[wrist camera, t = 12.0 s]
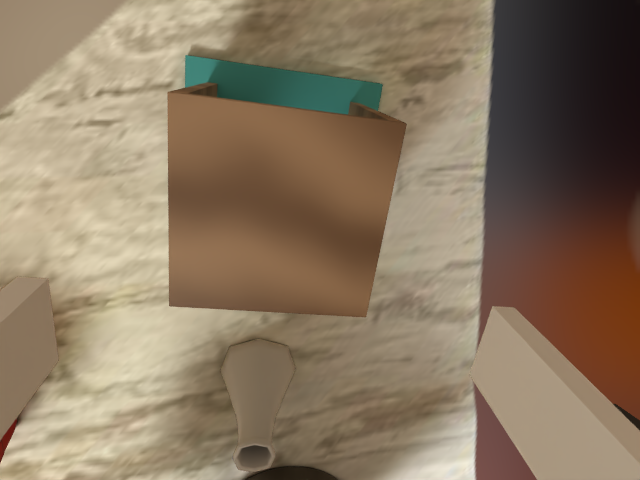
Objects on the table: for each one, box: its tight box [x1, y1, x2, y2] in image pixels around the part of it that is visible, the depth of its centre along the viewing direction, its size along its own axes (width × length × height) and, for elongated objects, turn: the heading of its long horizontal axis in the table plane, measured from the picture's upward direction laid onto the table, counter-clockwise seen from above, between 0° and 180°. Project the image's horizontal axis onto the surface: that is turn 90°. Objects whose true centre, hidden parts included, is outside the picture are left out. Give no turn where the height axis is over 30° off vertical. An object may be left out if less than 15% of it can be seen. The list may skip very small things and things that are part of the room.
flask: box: [221, 339, 296, 472], centre depth 35 cm, size 7×7×10 cm
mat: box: [185, 55, 383, 115], centre depth 32 cm, size 14×14×1 cm
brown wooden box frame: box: [168, 82, 406, 317], centre depth 26 cm, size 11×11×12 cm
